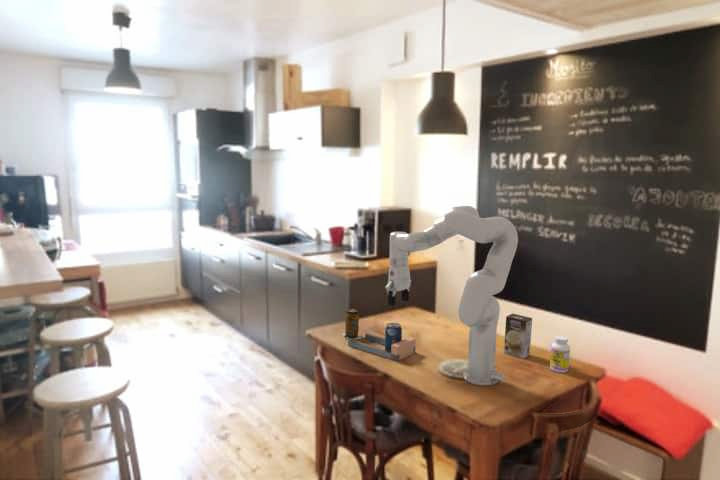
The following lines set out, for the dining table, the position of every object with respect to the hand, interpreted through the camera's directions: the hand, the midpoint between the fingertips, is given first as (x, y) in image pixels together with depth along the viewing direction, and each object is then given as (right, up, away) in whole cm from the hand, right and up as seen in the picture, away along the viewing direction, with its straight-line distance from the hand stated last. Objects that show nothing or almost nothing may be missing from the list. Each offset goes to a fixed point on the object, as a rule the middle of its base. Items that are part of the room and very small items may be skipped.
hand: (398, 302), depth 206 cm
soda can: (-2, -21, +3) cm, 22 cm away
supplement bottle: (+61, -24, -13) cm, 67 cm away
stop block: (+2, -22, -1) cm, 22 cm away
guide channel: (-7, -21, +7) cm, 23 cm away
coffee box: (+50, -22, +2) cm, 54 cm away
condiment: (-20, -18, +22) cm, 35 cm away
